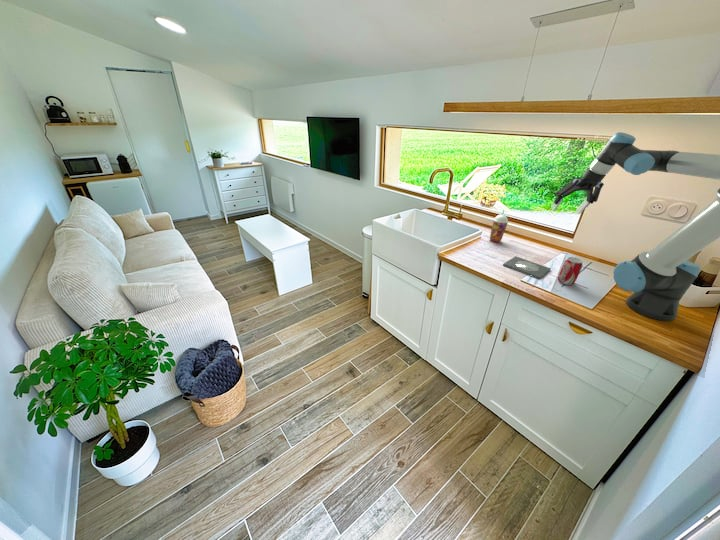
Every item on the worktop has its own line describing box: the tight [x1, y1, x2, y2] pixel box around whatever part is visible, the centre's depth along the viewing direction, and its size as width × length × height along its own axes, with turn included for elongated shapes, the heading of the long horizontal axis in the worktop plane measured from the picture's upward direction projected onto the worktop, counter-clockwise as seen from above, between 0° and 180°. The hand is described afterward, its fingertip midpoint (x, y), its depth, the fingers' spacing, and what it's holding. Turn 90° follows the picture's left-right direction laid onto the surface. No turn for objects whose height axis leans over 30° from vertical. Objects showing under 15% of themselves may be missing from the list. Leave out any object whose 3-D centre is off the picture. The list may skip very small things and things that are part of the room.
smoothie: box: [489, 209, 509, 244], centre depth 173 cm, size 8×8×20 cm
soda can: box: [557, 256, 583, 286], centre depth 131 cm, size 7×7×12 cm
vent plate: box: [502, 255, 552, 280], centre depth 146 cm, size 18×15×1 cm
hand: (565, 210), depth 138 cm, fingers open, 13 cm apart
